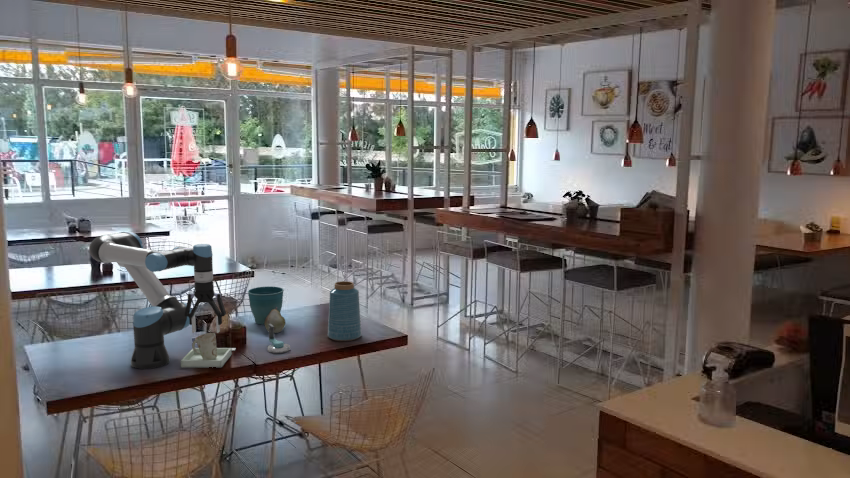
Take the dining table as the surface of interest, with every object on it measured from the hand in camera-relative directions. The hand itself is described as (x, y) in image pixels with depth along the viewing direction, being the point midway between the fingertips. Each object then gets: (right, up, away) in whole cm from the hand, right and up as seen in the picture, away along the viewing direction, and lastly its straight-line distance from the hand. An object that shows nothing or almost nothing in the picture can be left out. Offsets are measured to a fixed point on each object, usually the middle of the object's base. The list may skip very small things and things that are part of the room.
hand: (206, 331), depth 284 cm
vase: (+55, -8, +38) cm, 67 cm away
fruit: (+19, -7, +45) cm, 50 cm away
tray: (0, -13, +2) cm, 13 cm away
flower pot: (+11, -4, +63) cm, 64 cm away
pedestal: (+27, -11, +18) cm, 34 cm away
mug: (-1, -12, +3) cm, 12 cm away
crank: (+25, -8, +22) cm, 34 cm away
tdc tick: (+6, -11, +17) cm, 21 cm away
